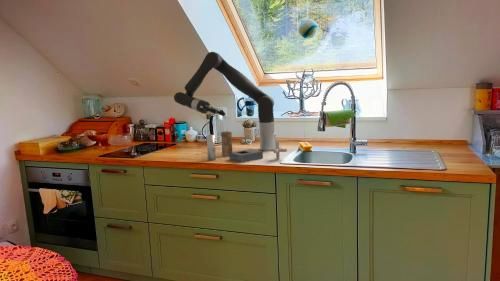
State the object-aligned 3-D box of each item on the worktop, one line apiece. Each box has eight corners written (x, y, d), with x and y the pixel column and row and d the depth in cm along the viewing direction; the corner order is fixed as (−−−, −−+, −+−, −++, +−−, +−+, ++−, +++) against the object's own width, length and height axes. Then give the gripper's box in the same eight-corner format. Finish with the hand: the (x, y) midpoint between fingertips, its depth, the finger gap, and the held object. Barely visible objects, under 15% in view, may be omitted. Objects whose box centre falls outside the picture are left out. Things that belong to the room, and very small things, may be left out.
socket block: (251, 155, 222) (250, 148, 221) (262, 158, 213) (262, 151, 213) (229, 159, 213) (229, 152, 212) (241, 162, 204) (240, 155, 204)
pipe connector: (289, 157, 213) (288, 139, 211) (284, 161, 203) (283, 142, 202) (272, 156, 216) (271, 139, 215) (266, 160, 207) (265, 142, 206)
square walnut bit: (228, 154, 228) (227, 131, 225) (232, 155, 224) (231, 131, 222) (222, 155, 225) (220, 132, 223) (226, 156, 222) (225, 132, 219)
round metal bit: (213, 158, 217) (211, 134, 215) (217, 160, 213) (216, 135, 211) (206, 160, 214) (205, 135, 212) (210, 161, 211) (209, 136, 209)
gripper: (194, 97, 226) (214, 104, 217) (209, 102, 238) (229, 109, 229) (190, 109, 226) (210, 117, 217) (206, 113, 238) (225, 121, 229)
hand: (220, 113), depth 223 cm, fingers open, 8 cm apart
